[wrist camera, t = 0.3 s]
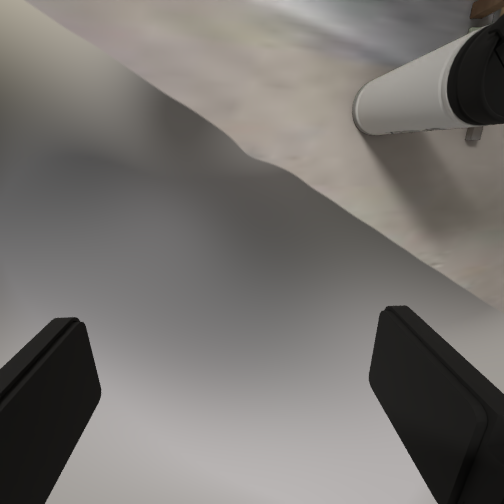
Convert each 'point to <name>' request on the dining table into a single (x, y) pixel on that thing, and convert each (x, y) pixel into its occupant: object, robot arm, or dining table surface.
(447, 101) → the travel mug
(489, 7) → the tunnel track
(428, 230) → the dining table surface
